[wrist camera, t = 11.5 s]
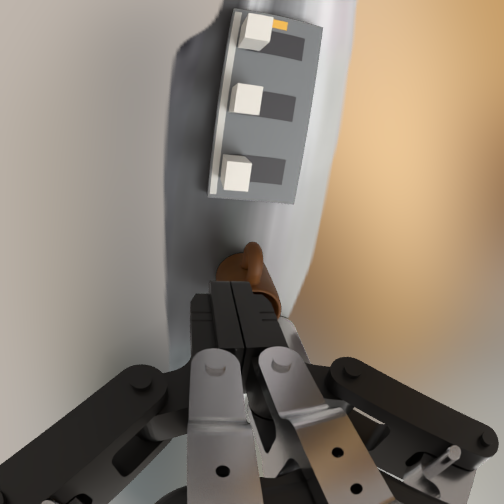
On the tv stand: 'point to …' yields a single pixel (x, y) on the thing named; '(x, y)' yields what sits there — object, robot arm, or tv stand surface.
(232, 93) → the block
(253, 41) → the block
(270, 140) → the breaker panel
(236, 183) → the breaker
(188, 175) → the tv stand surface
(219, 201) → the tv stand surface
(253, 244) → the mug
